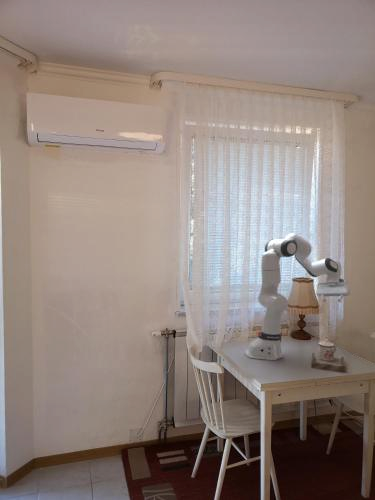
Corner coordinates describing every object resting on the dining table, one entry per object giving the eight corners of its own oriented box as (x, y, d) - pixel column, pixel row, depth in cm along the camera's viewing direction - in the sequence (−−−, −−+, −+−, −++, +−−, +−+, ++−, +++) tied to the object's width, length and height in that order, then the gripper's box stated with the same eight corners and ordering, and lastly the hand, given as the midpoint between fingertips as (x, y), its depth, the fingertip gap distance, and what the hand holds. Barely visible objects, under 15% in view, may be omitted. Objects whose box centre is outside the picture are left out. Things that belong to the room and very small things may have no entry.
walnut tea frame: (311, 367, 201) (311, 362, 201) (312, 357, 218) (312, 352, 218) (345, 372, 195) (345, 366, 195) (343, 361, 212) (343, 356, 212)
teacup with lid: (325, 362, 211) (326, 342, 211) (314, 357, 219) (315, 338, 219) (341, 359, 216) (341, 340, 215) (329, 355, 224) (330, 336, 224)
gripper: (315, 280, 240) (313, 299, 233) (348, 279, 229) (347, 299, 222) (318, 285, 244) (316, 303, 237) (350, 284, 233) (349, 303, 226)
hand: (331, 301), depth 229 cm, fingers open, 8 cm apart
